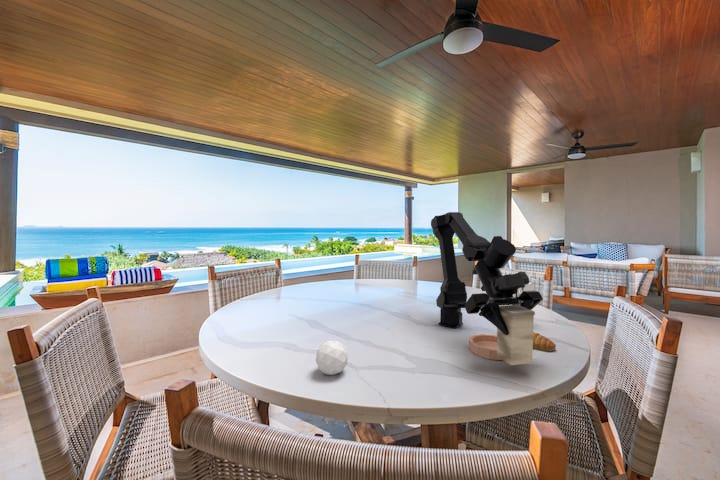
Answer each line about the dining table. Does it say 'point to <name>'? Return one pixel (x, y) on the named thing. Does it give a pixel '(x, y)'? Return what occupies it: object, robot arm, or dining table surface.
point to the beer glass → (524, 289)
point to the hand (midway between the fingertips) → (518, 333)
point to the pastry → (542, 343)
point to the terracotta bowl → (484, 346)
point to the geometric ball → (331, 357)
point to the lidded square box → (516, 335)
